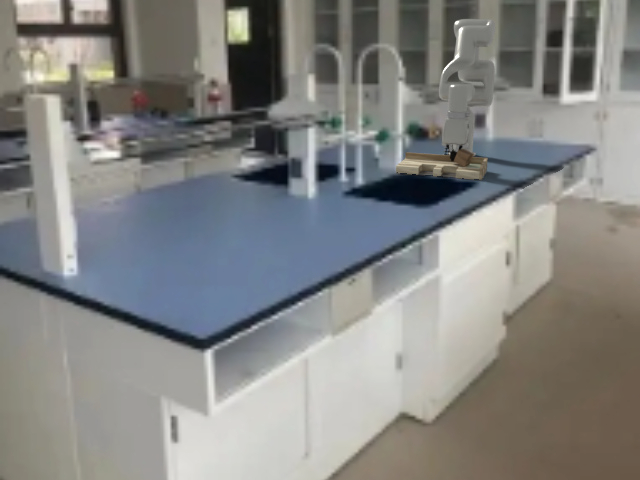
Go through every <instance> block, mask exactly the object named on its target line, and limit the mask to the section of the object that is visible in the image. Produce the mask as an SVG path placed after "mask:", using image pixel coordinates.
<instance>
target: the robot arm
mask: <svg viewBox="0 0 640 480" xmlns="http://www.w3.org/2000/svg"><path fill="white" fill-rule="evenodd" d="M453 32H454V36H455V38H456V41H455V48H454V55H453V59H452V60H451V61H450V62H449V63H448V64H446V66H445V67H444V69H443V70H442V72H441V75H440V79H439V85H438V86H439V87H438V96H439V99H441V101H447V116H446V118H445V120H444V122H443V129H442V135H441V136H442V137H441V146H442V147H444V148H446V147H447V148H448V149H447V150H449V151H450V152H449V155H450V159H451V161H454V159H455V157H456V154H457V152H458V150H461V149H465V150H467V151H469V152H471V153H473V154H474V155H473V157H476V154H477V153H476V152H475V151H473V149H474V148H473V146H474V136H475V135H474V133H475V124H476V123H475V121H476V116H475V114H474V112H473V111H472V109H471V108H490V106H492V103H493V99H494V88H495V77H496V76H495V75H496V68H495V64H494V62H493V61H492V60H488V59H487V60H486V59H485V60H483V59H480V58H479V57H480V48H479V47H481V48H489V47H490V46H491V45H492V43H493V41H494V37H495V34H496V22H495V21H494V20H493V19H489V18H488V19H486V18H485V19H484V18H483V19H482V18H479V19H478V18H477V19H476V18H463V19H458V20H455V22H454V24H453ZM455 73H457V77H458V79H459V81H448V80H449V78H450V77H451V76H452V75H453V74H455ZM461 81H462V82H461ZM472 83H481V84H483V85H477V84H476V85H475V84H472Z"/></svg>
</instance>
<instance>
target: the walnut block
mask: <svg viewBox="0 0 640 480" xmlns="http://www.w3.org/2000/svg"><path fill="white" fill-rule="evenodd" d="M473 155H474V154H473V153H471V152H469V151H467V150H465V149H461V150H458V152H457V154H456V157H455V159H454V162H456V163H458V164H460V165H461V166H463V167H465V166H468V165H470V162H471V160H472V157H474V156H473Z"/></svg>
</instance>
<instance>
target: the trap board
mask: <svg viewBox="0 0 640 480" xmlns="http://www.w3.org/2000/svg"><path fill="white" fill-rule="evenodd" d="M404 156H405V158H404V159H403V160H402V161H401V162H399V163H397V164H396V165H395V173H396V172H398V173H397V174H400V173H407V174H406V175H412V174H416V175H415V176H425V175H433V176H432V177H437V176H443V177H442V178H449V177H453V178H452V179H462V178H464V179H465V180H474V179H479V180H478V181H482V180H483V178H484V177H485V176H486V174H487V172H486V171H488V160H489V159H488V157H477V156H473V157H472V160H471V162H470V165H468V166H465V167H463V166H461V165H460V164H458V163H456V162H454V161H451V159H450V155H443V154H438V153H436V154H434V153H424V152H423V153H419V152H408V151H407V152H405V155H404ZM483 176H484V177H483Z"/></svg>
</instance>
